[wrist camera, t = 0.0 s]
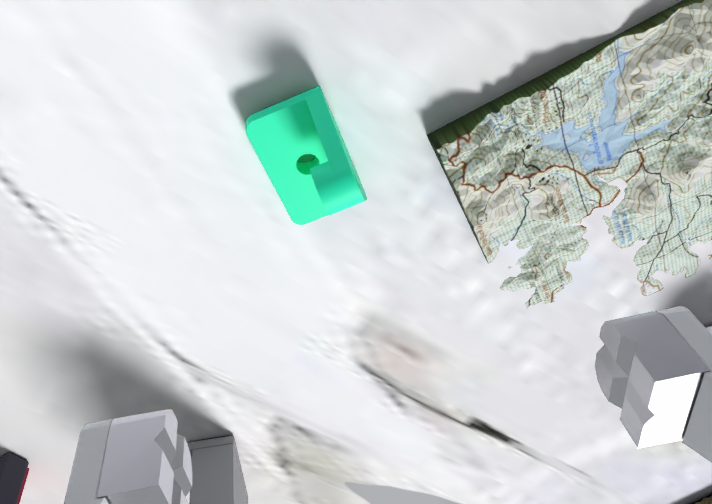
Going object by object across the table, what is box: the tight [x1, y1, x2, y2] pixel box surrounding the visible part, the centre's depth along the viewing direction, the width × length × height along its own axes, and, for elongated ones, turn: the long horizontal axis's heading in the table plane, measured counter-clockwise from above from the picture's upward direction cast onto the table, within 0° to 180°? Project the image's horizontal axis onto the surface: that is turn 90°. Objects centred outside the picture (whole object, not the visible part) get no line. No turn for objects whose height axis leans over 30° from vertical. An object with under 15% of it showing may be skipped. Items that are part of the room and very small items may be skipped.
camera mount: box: [246, 86, 367, 225], centre depth 57 cm, size 12×8×10 cm, turn 20°
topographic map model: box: [427, 0, 712, 308], centre depth 69 cm, size 36×29×5 cm
